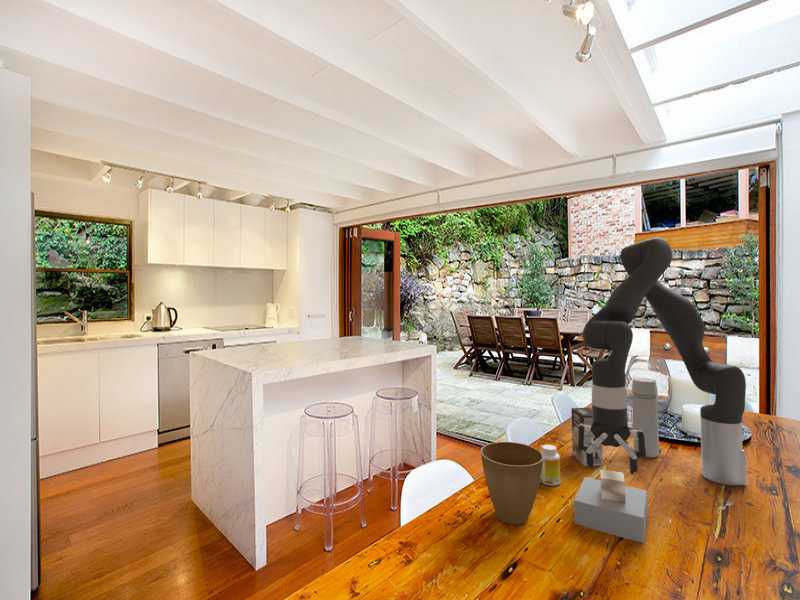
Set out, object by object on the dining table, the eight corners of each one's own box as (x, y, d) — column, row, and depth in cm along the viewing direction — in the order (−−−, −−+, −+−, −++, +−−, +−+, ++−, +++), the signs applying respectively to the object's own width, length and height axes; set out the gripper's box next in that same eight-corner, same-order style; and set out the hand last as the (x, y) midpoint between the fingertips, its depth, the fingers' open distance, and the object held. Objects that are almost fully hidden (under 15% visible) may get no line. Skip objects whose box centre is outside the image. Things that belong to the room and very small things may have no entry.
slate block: (647, 514, 96) (646, 490, 95) (644, 545, 84) (643, 518, 84) (585, 499, 104) (584, 476, 104) (574, 525, 92) (574, 500, 92)
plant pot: (512, 542, 86) (510, 470, 86) (470, 510, 99) (468, 448, 99) (559, 522, 93) (557, 456, 92) (514, 495, 106) (512, 437, 106)
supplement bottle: (564, 483, 111) (563, 448, 111) (550, 488, 109) (549, 452, 109) (549, 476, 116) (548, 442, 116) (535, 480, 114) (534, 445, 114)
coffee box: (571, 454, 131) (570, 407, 131) (590, 454, 131) (589, 406, 131) (583, 466, 122) (582, 415, 122) (604, 466, 122) (603, 415, 122)
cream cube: (623, 493, 95) (623, 472, 95) (625, 503, 90) (624, 481, 90) (600, 489, 97) (600, 469, 97) (601, 498, 92) (600, 477, 92)
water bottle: (659, 452, 131) (657, 378, 131) (659, 460, 124) (657, 383, 124) (627, 447, 136) (625, 376, 136) (626, 455, 129) (624, 380, 129)
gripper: (641, 401, 94) (643, 468, 94) (576, 397, 100) (578, 459, 100) (646, 410, 87) (648, 482, 87) (576, 404, 93) (578, 472, 93)
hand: (611, 470), depth 93 cm, fingers open, 8 cm apart
